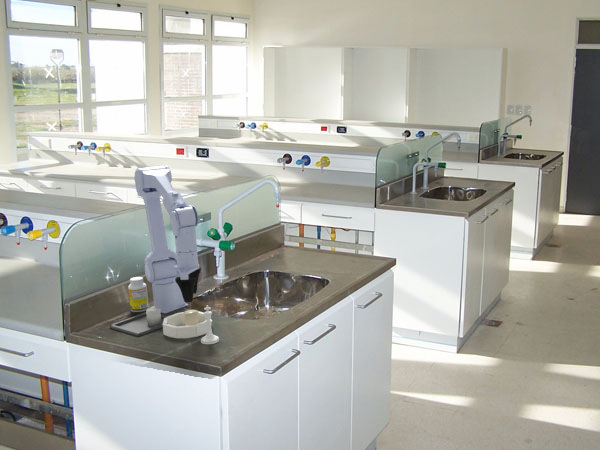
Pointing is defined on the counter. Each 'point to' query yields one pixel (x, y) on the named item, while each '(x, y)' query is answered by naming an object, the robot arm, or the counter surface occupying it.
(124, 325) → the tray
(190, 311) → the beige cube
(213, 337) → the chess piece
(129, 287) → the supplement bottle
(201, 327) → the bowl
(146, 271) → the robot arm
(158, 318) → the pebble grey
